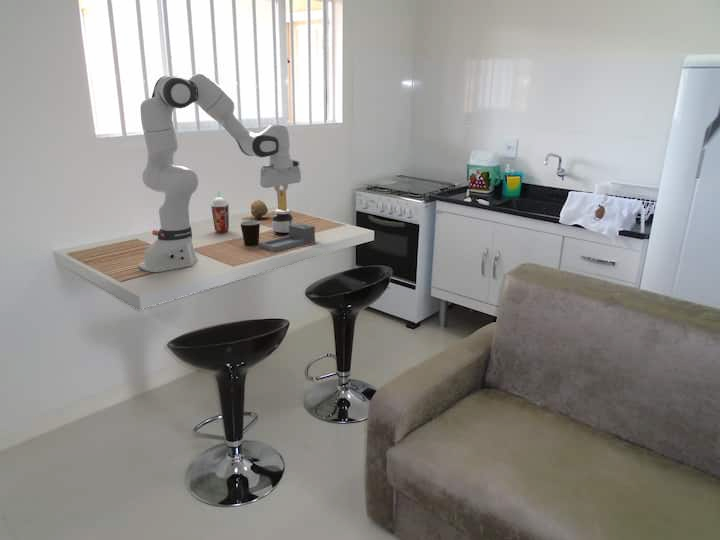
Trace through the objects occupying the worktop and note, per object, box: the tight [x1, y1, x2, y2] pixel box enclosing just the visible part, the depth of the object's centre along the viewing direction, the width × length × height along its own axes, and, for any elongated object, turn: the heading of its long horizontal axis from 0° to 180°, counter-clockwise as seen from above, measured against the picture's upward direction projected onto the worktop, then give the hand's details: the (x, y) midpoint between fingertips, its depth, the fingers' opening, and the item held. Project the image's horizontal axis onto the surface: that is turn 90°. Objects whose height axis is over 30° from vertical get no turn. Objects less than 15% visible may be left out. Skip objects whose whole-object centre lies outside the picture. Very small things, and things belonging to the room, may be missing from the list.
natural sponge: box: [250, 199, 269, 219], centre depth 292 cm, size 9×9×10 cm
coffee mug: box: [240, 220, 261, 247], centre depth 243 cm, size 12×9×10 cm
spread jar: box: [272, 208, 294, 236], centre depth 262 cm, size 12×11×12 cm
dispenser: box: [259, 222, 316, 253], centre depth 242 cm, size 24×10×8 cm, turn 138°
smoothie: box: [210, 191, 230, 234], centre depth 262 cm, size 8×8×20 cm
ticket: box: [276, 188, 288, 211], centre depth 235 cm, size 1×5×9 cm, turn 48°
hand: (281, 195), depth 235 cm, fingers closed on ticket, 1 cm apart
